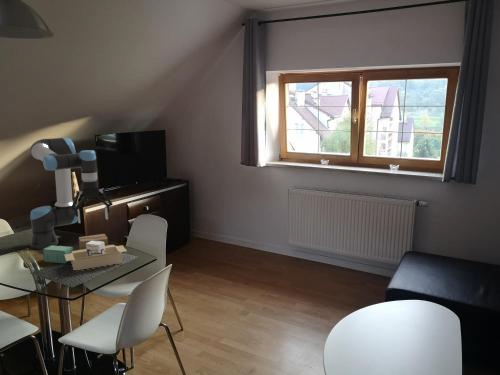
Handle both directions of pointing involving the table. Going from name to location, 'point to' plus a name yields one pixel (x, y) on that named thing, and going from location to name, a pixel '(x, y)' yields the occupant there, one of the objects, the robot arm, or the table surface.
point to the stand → (92, 238)
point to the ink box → (95, 248)
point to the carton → (95, 257)
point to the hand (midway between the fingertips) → (93, 220)
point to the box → (56, 253)
